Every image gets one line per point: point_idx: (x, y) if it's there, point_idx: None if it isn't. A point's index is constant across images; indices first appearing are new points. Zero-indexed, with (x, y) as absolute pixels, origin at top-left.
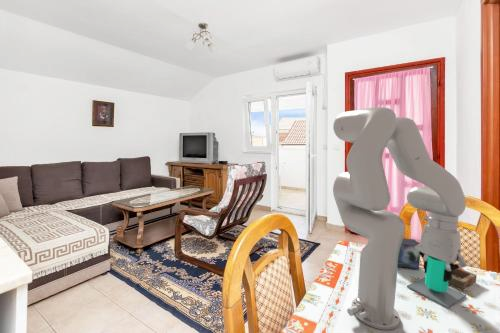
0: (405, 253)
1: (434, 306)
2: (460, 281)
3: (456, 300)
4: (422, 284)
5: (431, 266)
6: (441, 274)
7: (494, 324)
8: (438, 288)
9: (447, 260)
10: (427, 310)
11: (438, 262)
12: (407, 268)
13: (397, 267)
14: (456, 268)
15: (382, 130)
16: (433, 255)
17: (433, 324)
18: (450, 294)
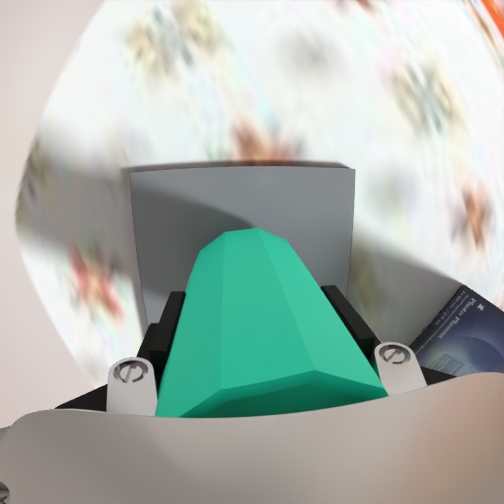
0: None
1: (175, 124)
2: None
3: (144, 279)
4: (314, 267)
5: (291, 302)
6: (190, 303)
7: (21, 252)
8: (210, 248)
9: (58, 431)
10: (178, 58)
11: (216, 371)
12: (413, 344)
13: (443, 309)
14: (67, 405)
15: None
16: (327, 434)
17: (122, 3)
18: None
